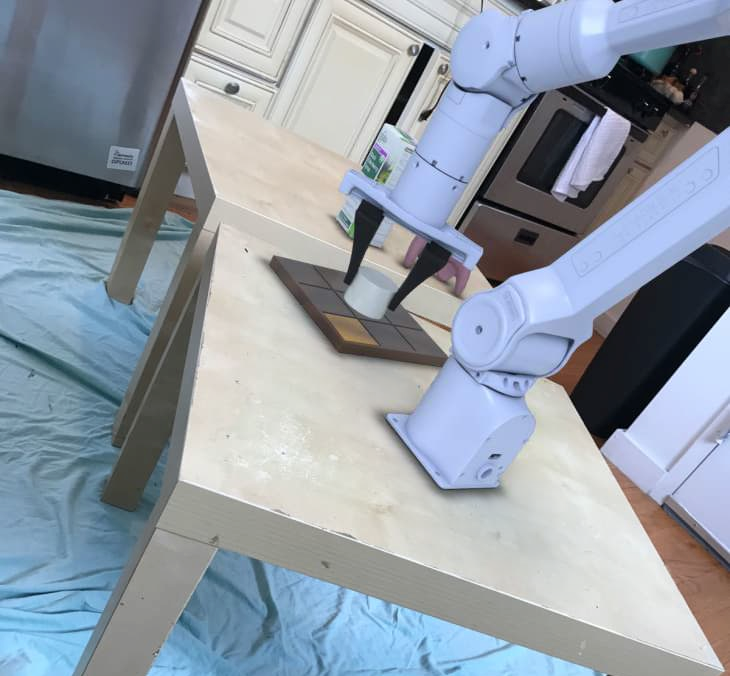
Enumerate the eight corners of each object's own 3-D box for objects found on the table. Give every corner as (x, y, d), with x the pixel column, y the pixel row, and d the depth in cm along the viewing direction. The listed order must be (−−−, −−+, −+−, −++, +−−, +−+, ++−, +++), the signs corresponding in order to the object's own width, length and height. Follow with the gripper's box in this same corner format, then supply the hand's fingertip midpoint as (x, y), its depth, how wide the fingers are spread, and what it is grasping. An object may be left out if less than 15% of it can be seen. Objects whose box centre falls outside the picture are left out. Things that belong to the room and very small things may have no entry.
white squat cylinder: (390, 322, 75) (406, 295, 73) (357, 316, 72) (373, 287, 70) (368, 296, 77) (383, 270, 76) (335, 289, 74) (350, 261, 73)
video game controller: (454, 299, 111) (476, 256, 110) (462, 297, 106) (485, 252, 106) (396, 267, 109) (418, 223, 108) (402, 263, 104) (425, 217, 104)
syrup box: (334, 218, 106) (383, 120, 99) (366, 230, 110) (416, 136, 102) (349, 238, 103) (400, 137, 95) (382, 250, 106) (434, 153, 99)
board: (445, 367, 85) (450, 358, 84) (338, 352, 74) (344, 341, 73) (374, 288, 93) (379, 279, 92) (268, 264, 82) (273, 254, 81)
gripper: (510, 200, 71) (436, 318, 78) (378, 118, 69) (315, 246, 77) (509, 215, 65) (430, 341, 72) (366, 125, 63) (298, 264, 71)
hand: (370, 294), depth 74 cm, fingers closed on white squat cylinder, 4 cm apart
